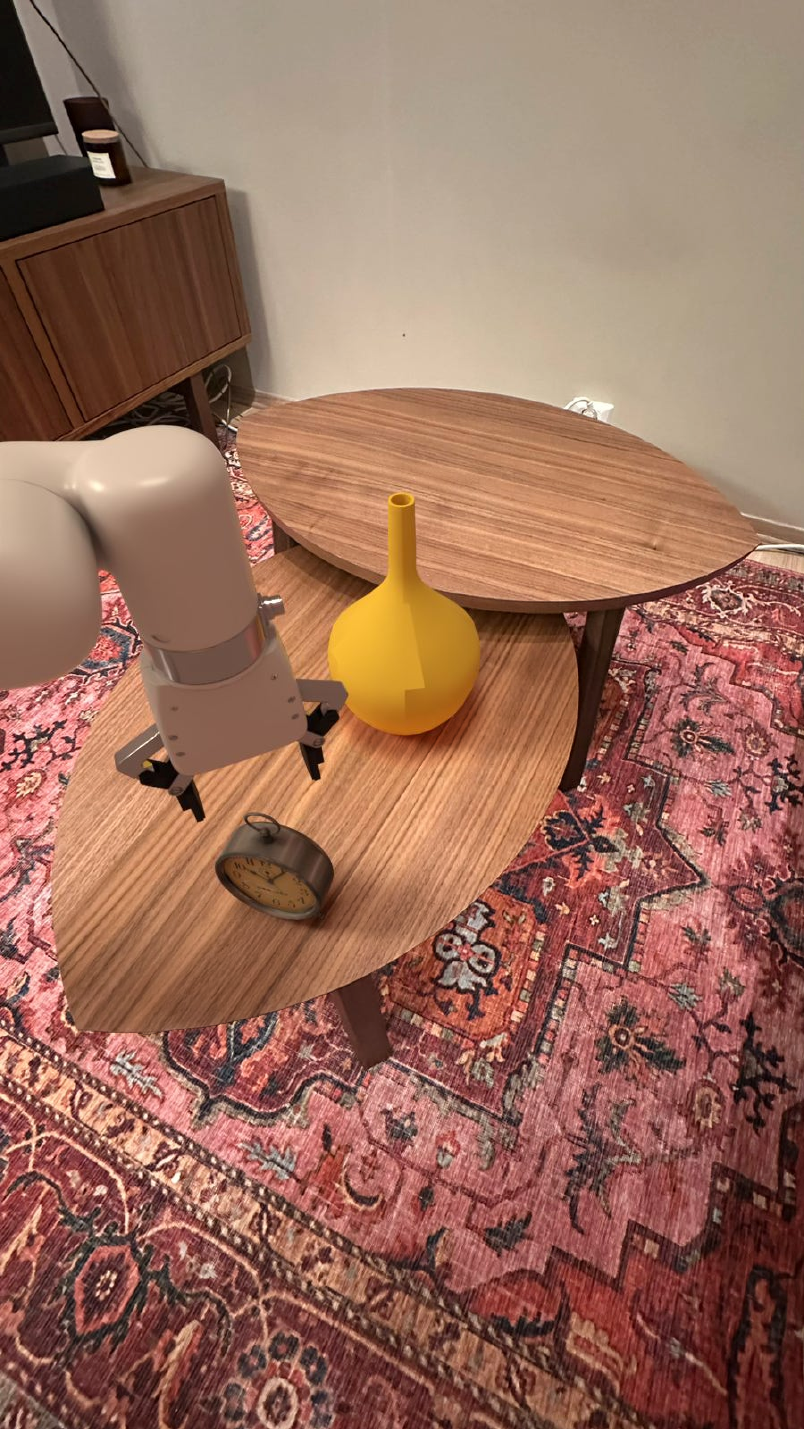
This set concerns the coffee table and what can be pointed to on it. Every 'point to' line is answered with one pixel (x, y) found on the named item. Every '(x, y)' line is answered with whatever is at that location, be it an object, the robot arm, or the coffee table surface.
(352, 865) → the coffee table surface
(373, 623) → the vase
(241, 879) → the alarm clock
